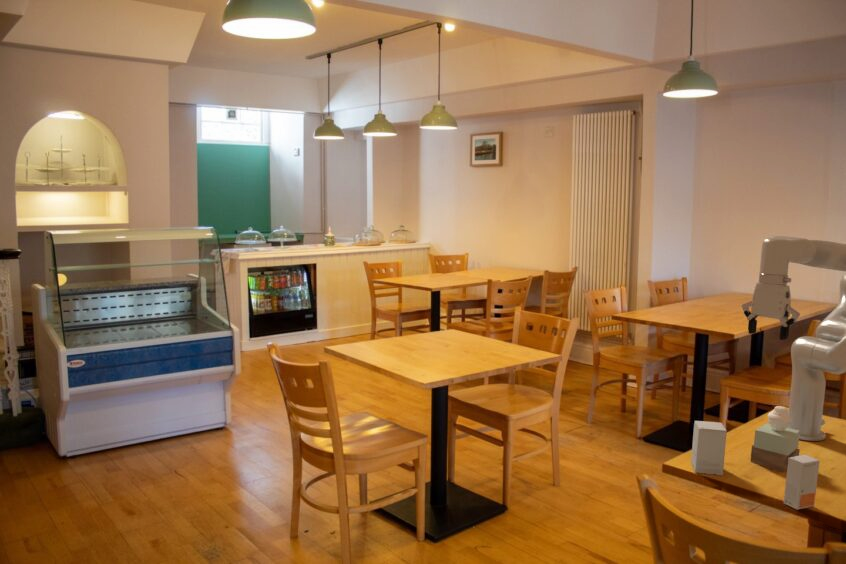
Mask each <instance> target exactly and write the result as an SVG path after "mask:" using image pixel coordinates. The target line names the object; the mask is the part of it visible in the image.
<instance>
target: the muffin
mask: <svg viewBox="0 0 846 564" xmlns="http://www.w3.org/2000/svg"><path fill="white" fill-rule="evenodd" d="M788 411H789V409H788V408H787V407H785V406H782V405H781V406H780V405H777V406H775V407H774V409H773V410H772V411H769V413H768V414H767V421H768V422H769V424H770V427H771V429H773V430H775V431H779V432H782V431H784V430H785V429H786V428H787V427H788V426H789V425H790V423H791V421H792V419H791V417H790V416H789V414H788Z"/></svg>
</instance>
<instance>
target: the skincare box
mask: <svg viewBox="0 0 846 564" xmlns="http://www.w3.org/2000/svg"><path fill="white" fill-rule="evenodd" d="M819 468H820V460H819V459H816V458H814V457H812V456H809V455H808V454H804V455H803V454H802V455H799V456H795V457H790V458H789V459H788V467H787V470H786V479H785V487H784V495H783V504H784V505H787V506H789V507H790V508H793V509H795V510H797V511H798V510H803V509H807V508H813V507H815V502H816V494H817V487H818V486H817V485H818V476H819Z"/></svg>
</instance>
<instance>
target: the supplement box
mask: <svg viewBox="0 0 846 564" xmlns="http://www.w3.org/2000/svg"><path fill="white" fill-rule="evenodd" d="M726 443H727V429H726V428H725V426H724V425H723V423H722V422H718V421H717V422H716V421H705V420H704V421H702V420H694V423H693V435H692V444H691V445H692V447H691V459H690V464H691V467H692V468H693V470H694V473H699V474H704V473H705V475H707V474H708V475H714V474H716V475H717V476H723V475H724V466H725V453H726ZM716 475H715V476H716Z"/></svg>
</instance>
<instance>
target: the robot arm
mask: <svg viewBox="0 0 846 564" xmlns="http://www.w3.org/2000/svg"><path fill="white" fill-rule="evenodd" d="M760 253H761V254H760V265H759V273H758V274H759V276H758V282H757V283H756V284H755V287H754V291H753V294H752V300H751V301H749V302H746V303H743V304H741V308H742V311H743V314H744V315H745V317H746V319H747V320H748V324H747V325H748V326H747V330H748V331H747V332H748V334H749V335H750V334H751V335H752V334H756V333H757V326H758V325H757V324H758V320H757V318H758V317H761V318H768V319H774V320H779V323H781V326H780V330H779V340H780V341H783V340H788V337H789V335H790V334H789V333H790V327H791V326H792V325H793V324H795V323H796V322H797V320H798V319H799V317H800V316H801V313H800V312H798V311H797V310H796V309H795V308H793V307H792V306H791V302H792V298H791V289H790V285H787V284H788V283H789V284H790V283H791V282H792V278H791V277H789V275H788V274H789V263H793V264H798V265H803V266H808V267H813V268H819V269H826V270H833V271H839V272H846V243H840V242H835V241H829V240H821V239H819V240H818V239H811V240H810V239H807V238H804V237H802V238H801V237H794V236H783V235H775V236H772V237H768V238H767V237H766V238H764V239H763V240H762V245H761V252H760ZM750 307H751V308H750ZM790 316H791V317H790ZM790 357H791V366H792V367H791V369H792V371H791V385H790V393H789V402H788V414H789V416H790V417H791V419H792V421H791V423H790V425H789V426H788V427H787V428H790V429H794V430H798V431H800V434H799V440H800V441H801V440H802V441H809V442H819V441H824V440H825V439H826V437H827V436H826V433H825V432H824V431H822V426H824V425H825V424H826V421H825V420H824V419H823V411H824V403H825V396H826V395H825V393H826V392H825V391H826V386H827V385H826V378H825V374H824V372H826V373H830V374H833V375H834V374H835V375H841V374H845V373H846V273H844V275H843V276H842V277H841V279H840V282H839V301H838V304H837V305H836V307H835V308H834V309H833V310H832V311H831V312H830V313H829V314H828V315H826V317H824V319H823V320H822V321H821V322H820V323H819V324H818V325H817V327H816V329H815V336H809V335H804V336H800V337H798V338H796V339H795V340H794V341H793V342H792V344H791V347H790Z"/></svg>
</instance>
